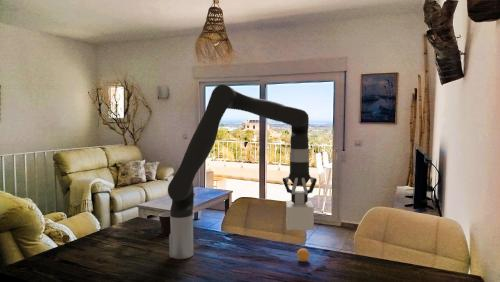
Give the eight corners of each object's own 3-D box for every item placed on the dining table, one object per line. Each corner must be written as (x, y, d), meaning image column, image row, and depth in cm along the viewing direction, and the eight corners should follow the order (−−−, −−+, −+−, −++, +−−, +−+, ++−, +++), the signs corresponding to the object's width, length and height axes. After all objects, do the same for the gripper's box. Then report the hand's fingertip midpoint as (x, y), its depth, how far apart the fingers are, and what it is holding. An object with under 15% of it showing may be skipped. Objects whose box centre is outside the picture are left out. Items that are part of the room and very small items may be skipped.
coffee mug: (172, 237, 165) (171, 217, 164) (156, 236, 167) (155, 216, 166) (181, 229, 176) (181, 210, 176) (166, 228, 178) (166, 210, 177)
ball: (305, 265, 132) (294, 259, 132) (305, 261, 137) (294, 254, 137) (312, 255, 132) (300, 248, 132) (311, 250, 137) (300, 244, 137)
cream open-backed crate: (286, 229, 130) (286, 194, 129) (286, 221, 140) (286, 189, 139) (313, 230, 129) (313, 194, 128) (311, 222, 139) (311, 189, 138)
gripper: (281, 161, 130) (281, 205, 131) (318, 161, 128) (318, 205, 129) (281, 159, 137) (281, 200, 138) (316, 159, 136) (316, 201, 137)
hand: (299, 203), depth 134 cm, fingers closed on cream open-backed crate, 3 cm apart
